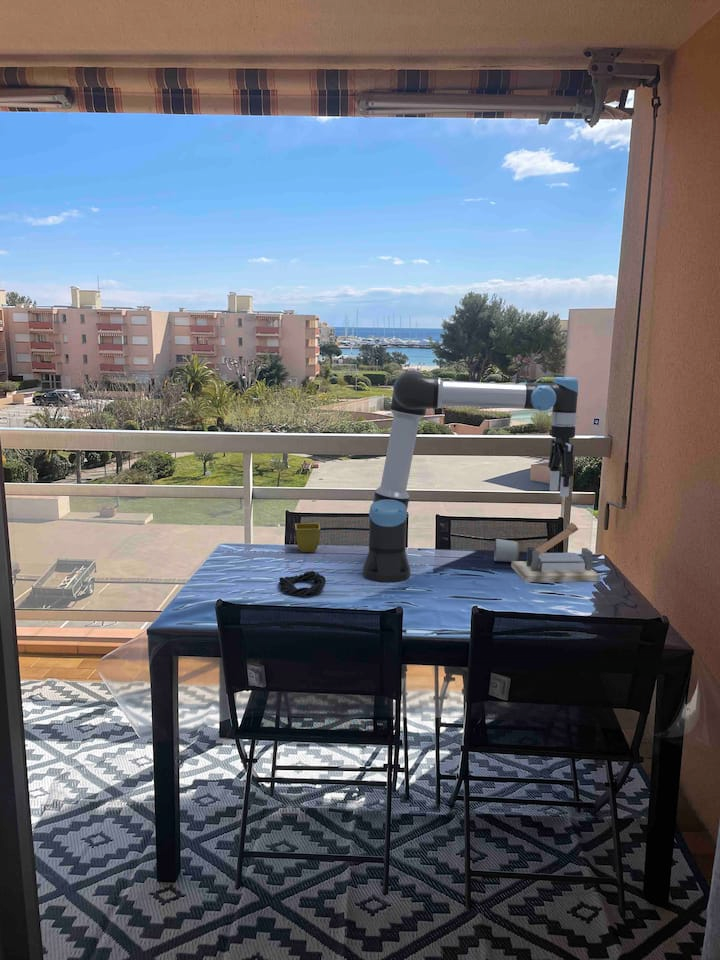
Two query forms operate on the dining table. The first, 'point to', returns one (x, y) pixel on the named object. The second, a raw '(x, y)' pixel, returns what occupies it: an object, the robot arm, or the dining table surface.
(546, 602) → the dining table surface
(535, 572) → the board
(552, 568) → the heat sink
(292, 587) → the cable
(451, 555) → the dining table surface
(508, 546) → the ceramic mug
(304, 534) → the flower pot
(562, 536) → the strap
